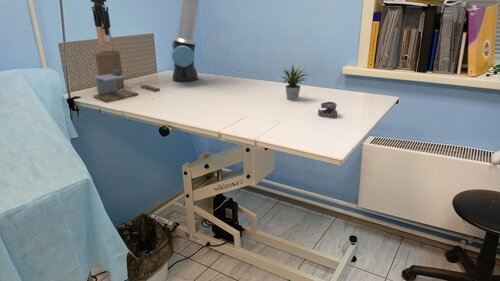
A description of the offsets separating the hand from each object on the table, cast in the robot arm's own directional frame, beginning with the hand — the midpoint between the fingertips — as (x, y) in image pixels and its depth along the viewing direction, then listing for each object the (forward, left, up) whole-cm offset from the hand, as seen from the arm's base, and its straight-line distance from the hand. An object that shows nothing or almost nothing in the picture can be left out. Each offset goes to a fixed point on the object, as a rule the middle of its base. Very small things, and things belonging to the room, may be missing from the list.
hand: (105, 41), depth 191 cm
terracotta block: (0, 0, -2) cm, 2 cm away
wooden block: (0, 0, -26) cm, 26 cm away
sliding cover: (+9, +18, -24) cm, 31 cm away
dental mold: (-36, +116, -26) cm, 125 cm away
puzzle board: (+1, +18, -26) cm, 31 cm away
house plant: (-45, +90, -26) cm, 104 cm away
